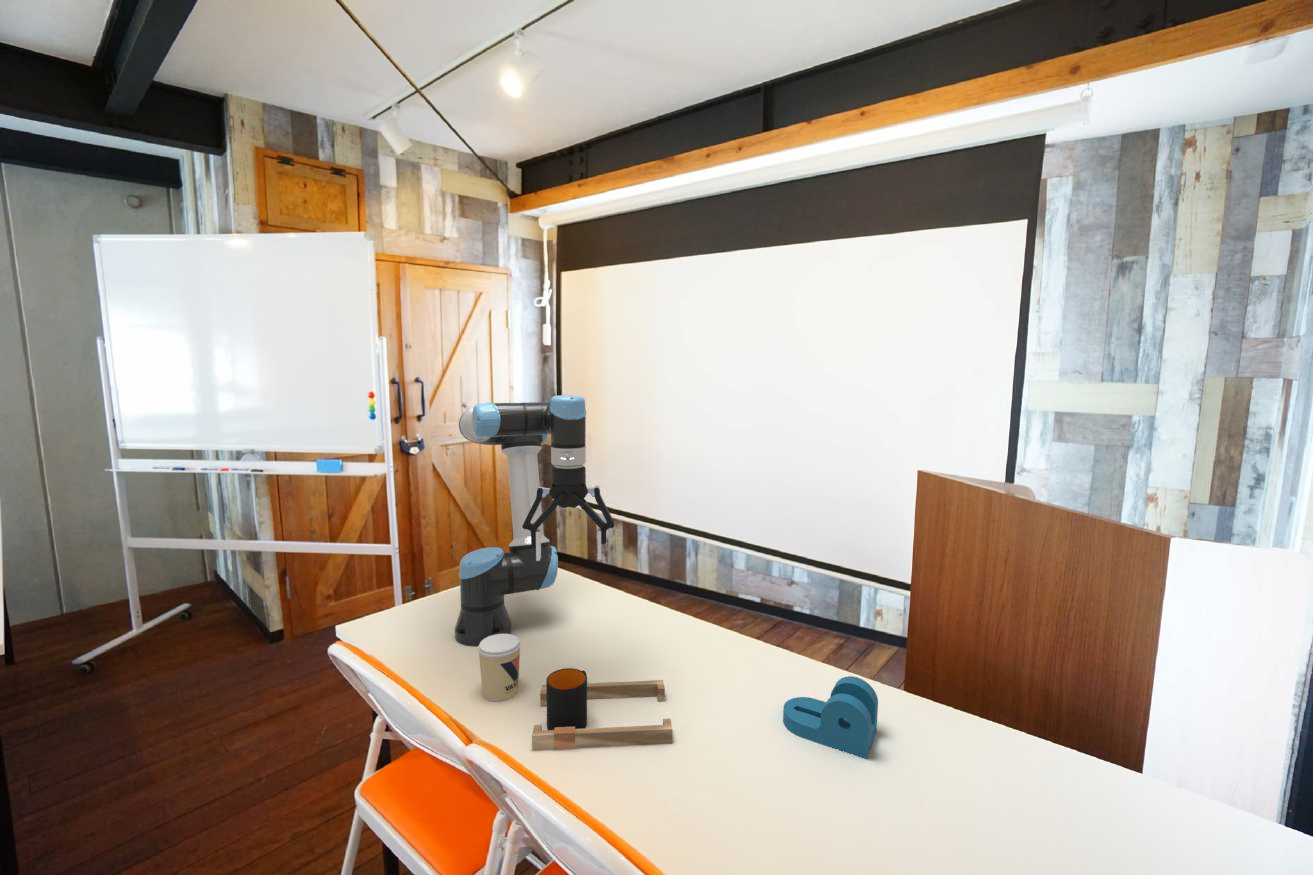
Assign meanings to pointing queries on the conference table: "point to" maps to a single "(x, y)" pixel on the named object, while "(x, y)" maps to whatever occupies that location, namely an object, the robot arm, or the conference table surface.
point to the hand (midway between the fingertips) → (569, 558)
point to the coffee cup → (499, 666)
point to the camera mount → (837, 717)
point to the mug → (567, 699)
